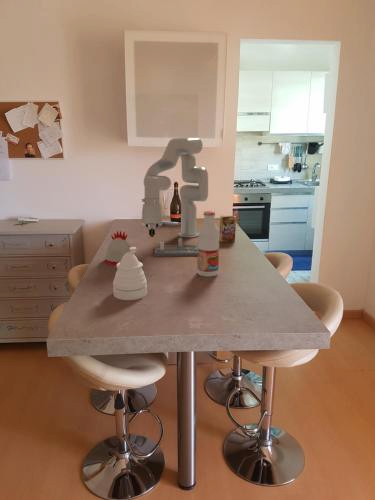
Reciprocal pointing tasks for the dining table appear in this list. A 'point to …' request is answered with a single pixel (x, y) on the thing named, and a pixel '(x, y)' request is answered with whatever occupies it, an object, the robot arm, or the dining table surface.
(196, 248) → the console
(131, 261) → the honey pot
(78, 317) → the dining table surface
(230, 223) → the candy box
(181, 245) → the fader
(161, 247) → the fader
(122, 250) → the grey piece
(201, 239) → the fruit juice
